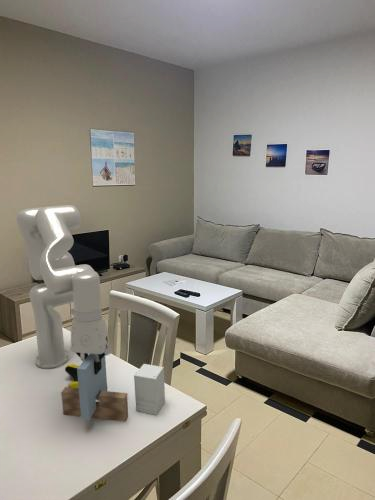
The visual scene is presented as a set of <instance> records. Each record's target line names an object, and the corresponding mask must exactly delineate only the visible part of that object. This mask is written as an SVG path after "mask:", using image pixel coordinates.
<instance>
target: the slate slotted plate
mask: <svg viewBox="0 0 375 500" xmlns="http://www.w3.org/2000/svg"><path fill="white" fill-rule="evenodd" d="M94 362H95V354H88V356H87V357H86V359H85V360H84V361H81V363H80V365H78V366H79V367H78V368H77V374H78V386H79V397H80V409H81V417H80V418H81V419H82V420H88V421H89V420H91V419H92V418H91V416H92V415H93V413H94V412H95V410H96V402H97V401H99V394H100V393H101V391H108V381H107V367H106V356H104V357H103V358H102V359H101V364H102V368H101V370H100V371H99V372H98V374H95V371H94Z"/></svg>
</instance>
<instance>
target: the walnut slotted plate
mask: <svg viewBox="0 0 375 500" xmlns="http://www.w3.org/2000/svg"><path fill="white" fill-rule="evenodd" d="M61 401H62V402H61V403H62V413H63V414H62V415H65V416H71V417H72V416H73V417H80V418H81V409H80V397H79V388H69V386H65V387H64V388H63V389H62V391H61ZM128 404H129V403H128V393H127V392H120V391H118V392H117V391H109V390H107V391H101V393H100V394H99V400H98V401H96V410H95V412H94V413H93V415H92V416H91V418H90V419H99V420H108V421H115V422H116V421H117V422H126V421H127V419H128V417H129V407H128V406H129V405H128Z"/></svg>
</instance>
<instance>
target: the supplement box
mask: <svg viewBox="0 0 375 500" xmlns="http://www.w3.org/2000/svg"><path fill="white" fill-rule="evenodd" d="M133 378H134V380H133V381H134V382H133V383H134V399H135V410H136V412H141V413H145V414H151V415H155V416H157V415H158V414H159V412H160V411H161V409H162V407H163V406H164V404H165V402H166V396H165V393H166V392H165V388H166V387H165V367H164V366H159V365H154V364H147V363H143V364H142V365H141V367H139V369H138V370H137V371H136V373H135V374H133Z"/></svg>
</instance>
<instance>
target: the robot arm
mask: <svg viewBox="0 0 375 500" xmlns="http://www.w3.org/2000/svg"><path fill="white" fill-rule="evenodd" d="M16 223H17V224H16V225H17V227H18V230H19V233H20V235H21V236H22V238H23V240H24V242H25V245H26V252H27V253H26V254H27V258H28V266H29V271H30V274H31V277H32V278H33V279H34V280H35V281H43V282H44V283H39V284H36V285H34V286H33V287H31V289H30V291H29V294H28V295H29V300H30V303H31V307H32V311H33V315H34V325H35V333H36V342H37V352H38V353H37V354H38V355H37V357H35V359H34V364H35V366H36V367H39V368H40V369H54V368H58V367H60V366H63V365H65V364H66V363H67V362H68V361H69V359H70V354H69V352H67V351H66V350H65V342H64V332H63V331H64V330H63V320H62V314H60V312H58V311H57V310H56V309H54V308H56V307H59V306H63V305H68V304H71V303H73V308H71V309H70V314H71V315H72V314H73V316H74V317H73V319H72V321H71V328H70V349H69V350H70V351H71V352H72V353H74V354H76V355H77V356H78V357H79V358H80V361H81V362H83V361H84V360H85V359H86V357H87V356H88V355H89V354H95V362H94V371H95V374H98V372H99V371H100V370H101V368H102V364H101V359H102V358H103V357H104V356H105V357H106V356H109V355H111V354H112V352H113V349H112V346H110V341H109V332H108V326H107V321H106V319H105V316H103V311H102V297H101V296H102V294H101V281H100V280H101V279H100V275H99V273H98V272H97V271H95V270H94V268H92V266H91V265H89V264H79V265H78V264H77V265H76V264H75V261H74V258H73V256H72V254H71V253H70V252H69V251H70V250H71V248H72V247H73V245H74V242H75V240H74V238H73V235H72V234H71V231H70V230H76V229H79V228H80V226H81V224H82V216H81V213H80V211H79V209H78V208H77V207H76V206H74V205H72V204H66V205H65V204H62V205H51V206H42V207H31V208H30V207H29V208H25V209H22V210H20V211H19V212H17V216H16Z"/></svg>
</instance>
